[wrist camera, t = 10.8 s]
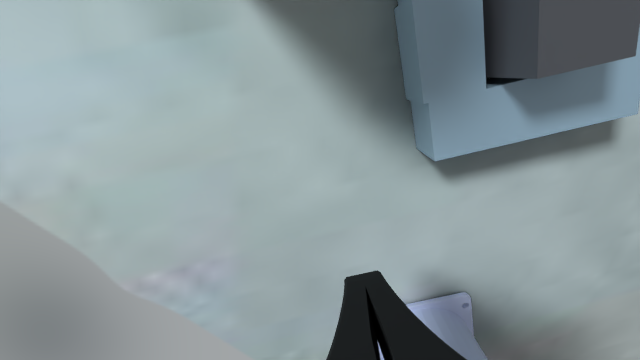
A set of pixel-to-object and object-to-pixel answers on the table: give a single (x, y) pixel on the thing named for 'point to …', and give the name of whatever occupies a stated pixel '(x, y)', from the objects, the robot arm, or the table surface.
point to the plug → (557, 35)
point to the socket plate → (494, 85)
